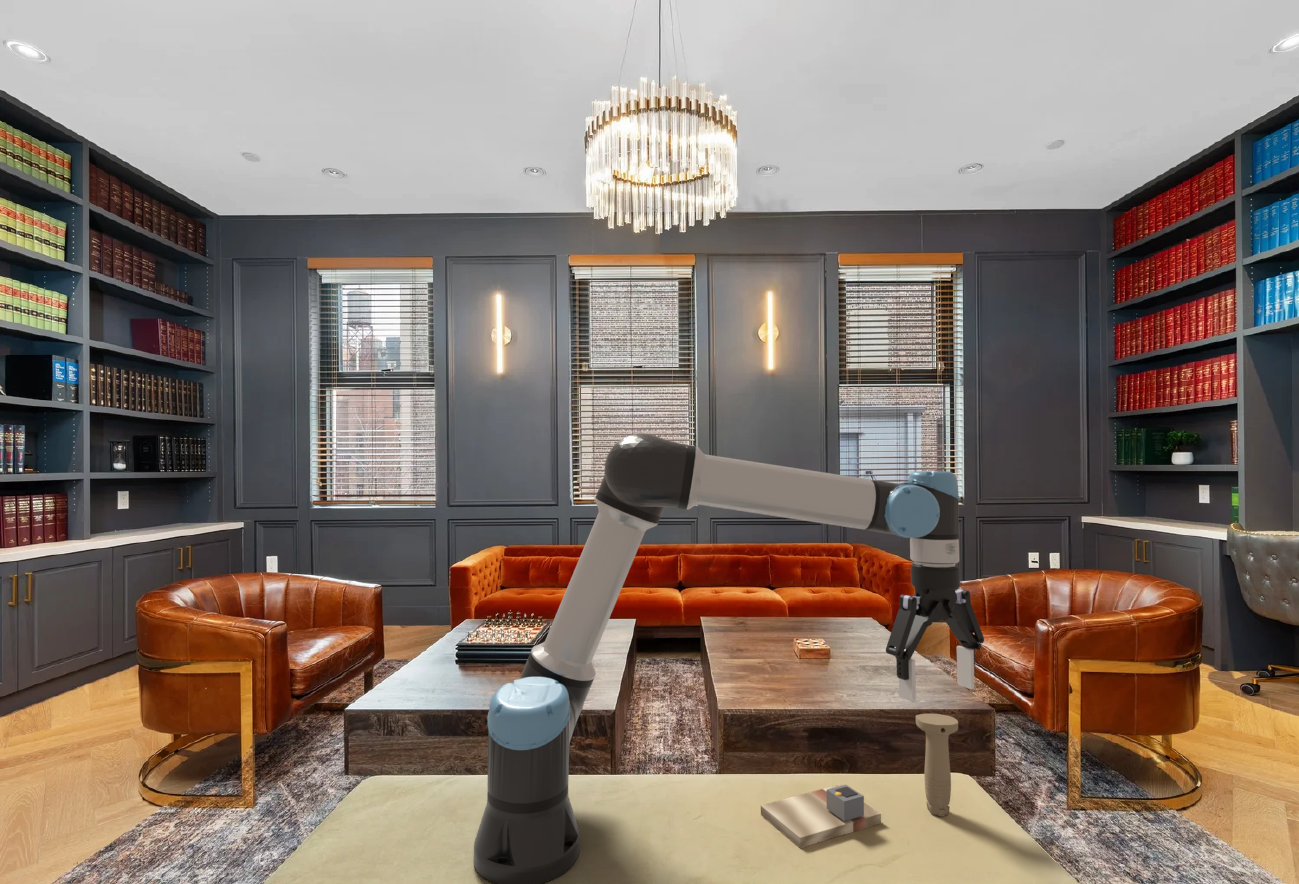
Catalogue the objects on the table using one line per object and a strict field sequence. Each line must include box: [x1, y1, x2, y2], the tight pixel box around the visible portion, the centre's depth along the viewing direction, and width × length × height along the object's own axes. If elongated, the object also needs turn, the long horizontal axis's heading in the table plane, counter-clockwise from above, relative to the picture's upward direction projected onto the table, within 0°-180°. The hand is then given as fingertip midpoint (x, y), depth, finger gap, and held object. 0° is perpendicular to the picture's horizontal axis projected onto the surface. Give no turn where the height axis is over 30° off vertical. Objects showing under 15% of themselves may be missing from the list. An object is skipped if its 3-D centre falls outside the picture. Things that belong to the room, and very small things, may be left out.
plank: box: [760, 784, 882, 849], centre depth 101 cm, size 16×10×2 cm, turn 115°
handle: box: [915, 713, 959, 817], centre depth 104 cm, size 5×6×15 cm
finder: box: [827, 784, 865, 821], centre depth 100 cm, size 4×4×3 cm
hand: (937, 692), depth 105 cm, fingers open, 13 cm apart
